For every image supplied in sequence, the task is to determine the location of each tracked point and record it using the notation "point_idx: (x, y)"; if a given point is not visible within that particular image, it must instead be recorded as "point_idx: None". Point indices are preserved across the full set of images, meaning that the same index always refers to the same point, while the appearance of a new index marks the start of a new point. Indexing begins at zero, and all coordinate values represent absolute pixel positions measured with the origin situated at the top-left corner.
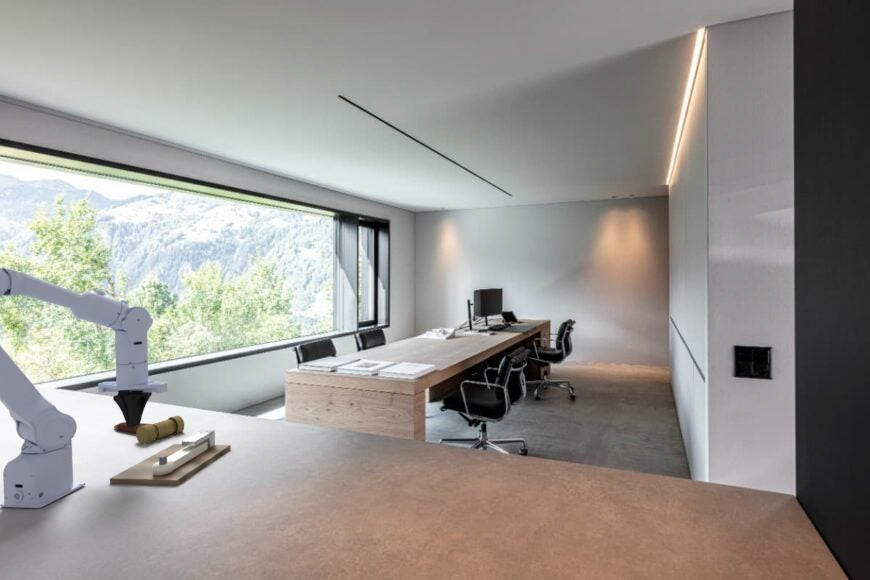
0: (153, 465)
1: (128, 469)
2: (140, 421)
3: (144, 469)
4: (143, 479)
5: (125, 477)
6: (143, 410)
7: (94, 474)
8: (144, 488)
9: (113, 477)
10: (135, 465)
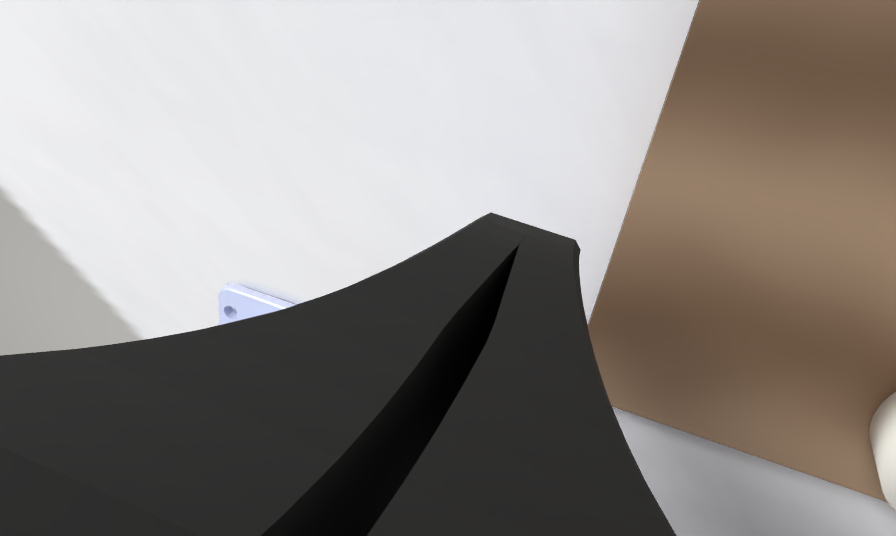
0: (890, 492)
1: (622, 274)
2: (578, 263)
3: (759, 312)
4: (814, 473)
5: (669, 411)
6: (595, 363)
7: (378, 191)
8: (837, 502)
9: None
10: (644, 207)
